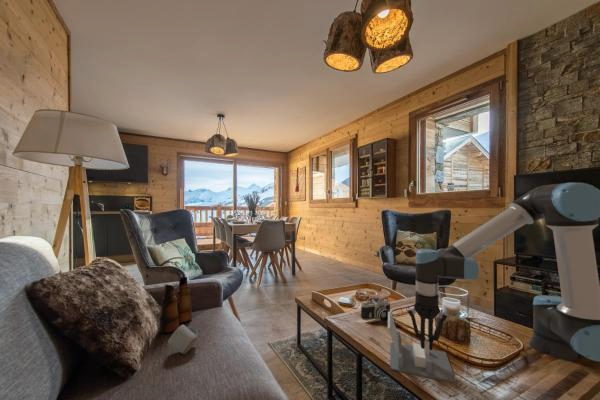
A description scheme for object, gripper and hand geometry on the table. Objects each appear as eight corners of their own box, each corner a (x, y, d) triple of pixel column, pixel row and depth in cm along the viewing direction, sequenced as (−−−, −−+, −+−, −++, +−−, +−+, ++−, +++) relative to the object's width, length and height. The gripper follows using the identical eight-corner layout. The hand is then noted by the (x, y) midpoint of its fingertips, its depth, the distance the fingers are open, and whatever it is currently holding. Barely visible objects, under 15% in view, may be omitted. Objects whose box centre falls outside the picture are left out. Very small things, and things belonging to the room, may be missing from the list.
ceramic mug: (182, 359, 97) (186, 349, 93) (165, 346, 98) (169, 335, 94) (201, 336, 106) (206, 326, 102) (186, 324, 107) (189, 314, 103)
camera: (367, 325, 121) (367, 303, 121) (358, 316, 129) (358, 297, 129) (396, 321, 125) (396, 300, 125) (386, 313, 134) (386, 294, 134)
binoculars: (181, 313, 132) (181, 274, 132) (195, 315, 130) (195, 275, 130) (154, 331, 114) (154, 286, 114) (170, 333, 112) (171, 288, 112)
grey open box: (445, 353, 98) (445, 338, 98) (456, 383, 82) (456, 364, 82) (390, 343, 105) (390, 329, 105) (390, 369, 89) (390, 352, 89)
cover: (390, 311, 104) (388, 311, 104) (390, 327, 91) (387, 327, 91) (398, 334, 103) (396, 334, 103) (399, 353, 89) (397, 354, 90)
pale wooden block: (422, 353, 98) (422, 344, 98) (425, 368, 89) (425, 358, 89) (412, 351, 99) (412, 342, 99) (415, 366, 90) (415, 356, 90)
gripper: (444, 291, 94) (444, 355, 94) (406, 287, 99) (406, 348, 99) (449, 298, 87) (449, 367, 87) (408, 293, 92) (407, 359, 92)
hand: (426, 357), depth 93 cm, fingers closed
